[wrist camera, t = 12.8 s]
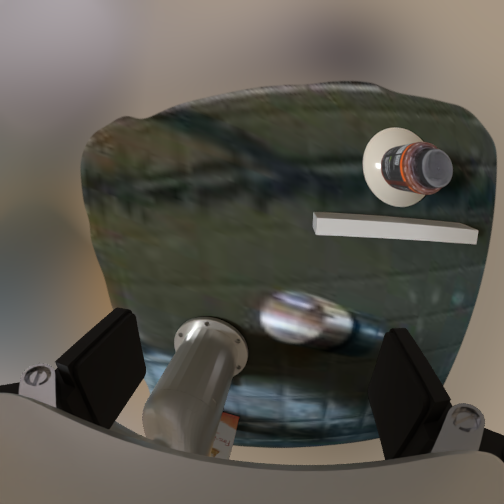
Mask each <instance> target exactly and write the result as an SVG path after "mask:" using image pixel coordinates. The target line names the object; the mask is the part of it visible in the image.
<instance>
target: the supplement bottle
mask: <svg viewBox="0 0 504 504" xmlns="http://www.w3.org/2000/svg"><path fill="white" fill-rule="evenodd" d="M381 173H382V176H383V178H384V179H385V181H386V182H387V183H388V185H390V186H391V187H393V188H395V189H398V190H402V191H407V192H413V193H417V194H423V195H430V194H434V193H436V192H437V191H439V190H440V189H441V188H442V187H444V186H446V185H447V184H448V183H449V182H450V181H451V178H452V175H453V166H452V163H451V160H450V158H449V157H448V155H447V154H446V153H445V152H444V151H442V150H440V149H438V148H437V147H436V146H434V145H433V144H431V143H428V142H416V143H411V144H406V145H402V146H396V147H393V148H391V149H389V150H388V151H387V152H386V153H385V154H384V155H383V158H382V160H381Z"/></svg>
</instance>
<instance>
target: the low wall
mask: <svg viewBox="0 0 504 504" xmlns="http://www.w3.org/2000/svg"><path fill="white" fill-rule="evenodd" d="M313 228H314V231H315V233H316V235H333V236H353V237H373V238H390V239H407V240H423V241H438V242H452V243H465V244H476V243H477V237H478V230H476V229H474V228H472V227H469V226H467V225H464V224H462V223H455V222H446V221H436V220H426V219H415V218H404V217H391V216H378V215H364V214H348V213H330V212H313Z"/></svg>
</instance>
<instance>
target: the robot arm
mask: <svg viewBox="0 0 504 504" xmlns="http://www.w3.org/2000/svg"><path fill="white" fill-rule="evenodd" d="M174 345H175V350H176V353H175V355H174V356H173V358H172V359H171V361H170V363H169V364H168V366H167V368H166V369H165V371H164V373H163V374H162V376H161V378H160V379H159V381H158V383H157V384H156V386H155V388H154V390H153V391H152V393H151V395H150V396H149V398H148V400H147V402H146V403H145V406H144V409H143V416H142V420H143V427H144V432H145V435H146V437H143V436H142V435H138V434H137V433H135V432H133V431H131V430H130V429H128V428H126V427H124V426H122V425H121V424H119V423H117V422H116V421H115V420H116V419H117V417H118V416H119V414H120V413H121V411H122V410H123V408H124V407H125V405H126V404H127V402H128V401H129V399H130V398H131V396H132V395H133V393H134V392H135V390H136V388H137V387H138V386H139V384H140V383H141V381H142V380H143V378H144V376H145V374H146V366H145V362H144V357H143V352H142V348H141V343H140V337H139V332H138V327H137V321H136V316H135V315H134V314H132V311H131V310H129V309H123V308H115V309H114V310H113V311H112V312H111V313H109V314H108V315H107V316H106V317H105V318H104V319H102V320H101V321H100V322H99V323H98V324H97V325H96V326H94V327H93V328H92V329H91V330H90V331H89V332H88V333H86V334H85V335H84V336H83V337H82V338H81V339H80V340H78V341H77V342H76V343H75V344H74V345H73V346H72V347H71V348H70V349H68V350H67V351H66V352H65V353H64V354H63V355H62V356H61V357H60V358H59V359H57V360H56V361H55V362H56V365H57V367H58V368H57V369H56V370H54V368H53V367H52V366H50V365H48V364H44V363H43V364H35V365H32V366H30V367H28V368H27V369H26V370H24V372H23V373H22V375H21V378H20V382H19V383H13V384H7V385H1V386H0V504H504V435H501V434H499V433H496V432H493V431H491V430H488V429H486V428H484V426H485V419H484V416H483V414H482V413H481V411H480V410H479V409H478V408H476V407H475V406H473V405H470V404H466V403H461V404H457V405H454V406H452V405H451V403H450V400H451V399H450V397H449V395H448V394H447V392H446V390H445V389H444V387H443V385H442V383H441V382H440V380H439V379H438V377H437V375H436V374H435V372H434V370H433V369H432V367H431V366H430V364H429V362H428V361H427V359H426V358H425V356H424V354H423V353H422V351H421V350H420V348H419V347H418V345H417V344H416V342H415V341H414V339H413V338H412V336H411V335H410V333H409V332H408V330H407V329H406V328H392V329H390V331H389V332H387V333H386V334H385V336H384V339H383V343H382V346H381V350H380V353H379V356H378V360H377V363H376V366H375V369H374V372H373V375H372V378H371V381H370V384H369V387H368V397H369V401H370V404H371V408H372V411H373V415H374V418H375V422H376V426H377V429H378V433H379V437H380V441H381V445H382V449H383V453H384V457H385V460H383V461H374V462H363V463H352V464H337V465H280V464H265V463H253V462H242V461H235V460H228V459H221V458H215V457H210V456H211V451H212V447H213V443H214V439H215V436H216V432H217V429H218V426H219V422H220V419H221V416H222V412H223V409H224V405H225V402H226V399H227V395H228V392H229V388H230V385H231V381H232V378H233V376H235V375H237V374H238V373H239V372H241V371H242V370H243V368H244V367H245V365H246V363H247V359H248V346H247V343H246V341H245V339H244V337H243V336H242V335H241V333H240V332H239V331H238V330H237V329H236V328H235V327H233V326H232V325H230V324H229V323H227V322H225V321H223V320H220V319H217V318H213V317H197V318H193V319H190V320H188V321H186V322H185V323H184V324H183V325H182V326H181V327H180V328H179V330H178V331H177V333H176V336H175V340H174Z"/></svg>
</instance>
